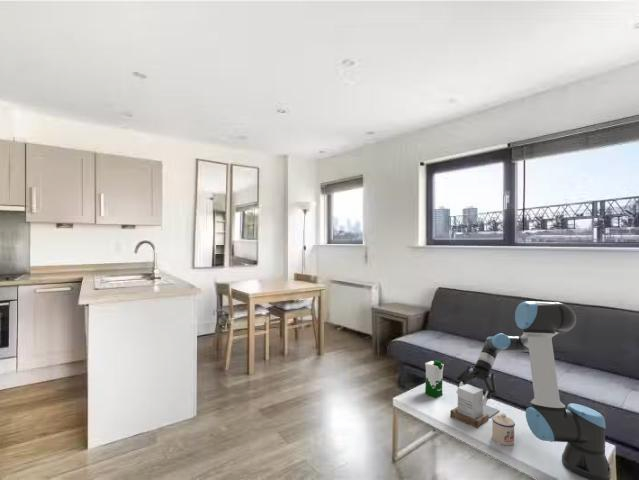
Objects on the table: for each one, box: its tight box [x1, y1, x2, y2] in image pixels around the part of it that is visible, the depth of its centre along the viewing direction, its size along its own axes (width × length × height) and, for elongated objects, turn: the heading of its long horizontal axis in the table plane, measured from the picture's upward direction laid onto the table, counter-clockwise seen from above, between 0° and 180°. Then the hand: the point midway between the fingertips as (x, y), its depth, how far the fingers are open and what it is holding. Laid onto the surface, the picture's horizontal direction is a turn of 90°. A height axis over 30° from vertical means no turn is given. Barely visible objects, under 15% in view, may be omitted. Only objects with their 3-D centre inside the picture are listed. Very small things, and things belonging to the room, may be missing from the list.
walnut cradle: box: [450, 406, 489, 429], centre depth 167 cm, size 12×13×3 cm
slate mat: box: [483, 404, 501, 419], centre depth 176 cm, size 12×12×1 cm
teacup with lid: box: [491, 412, 516, 447], centre depth 149 cm, size 12×9×12 cm
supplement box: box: [457, 383, 484, 420], centre depth 168 cm, size 9×9×15 cm
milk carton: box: [424, 359, 445, 399], centre depth 194 cm, size 9×9×20 cm
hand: (470, 398), depth 169 cm, fingers open, 13 cm apart
